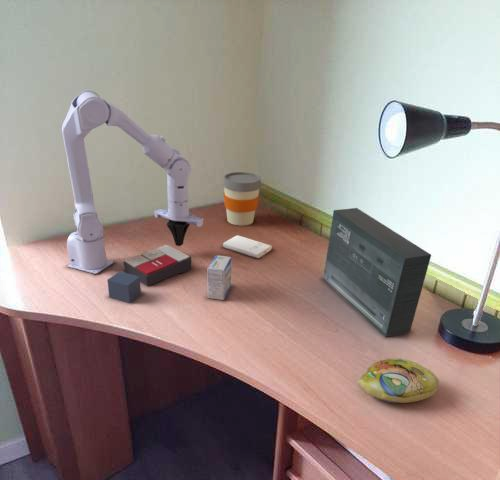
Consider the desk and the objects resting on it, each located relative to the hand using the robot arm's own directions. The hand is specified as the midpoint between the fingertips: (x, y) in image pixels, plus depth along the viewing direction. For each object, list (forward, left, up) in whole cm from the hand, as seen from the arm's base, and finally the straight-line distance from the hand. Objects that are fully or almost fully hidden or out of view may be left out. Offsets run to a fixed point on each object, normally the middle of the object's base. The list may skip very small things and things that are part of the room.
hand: (179, 244), depth 143 cm
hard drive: (+16, +13, -3) cm, 21 cm away
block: (0, -27, -3) cm, 27 cm away
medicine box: (+20, -15, -3) cm, 25 cm away
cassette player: (+55, -3, -3) cm, 55 cm away
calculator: (0, -12, -3) cm, 12 cm away
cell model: (+68, -34, -3) cm, 76 cm away
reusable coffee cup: (+5, +33, -3) cm, 34 cm away
